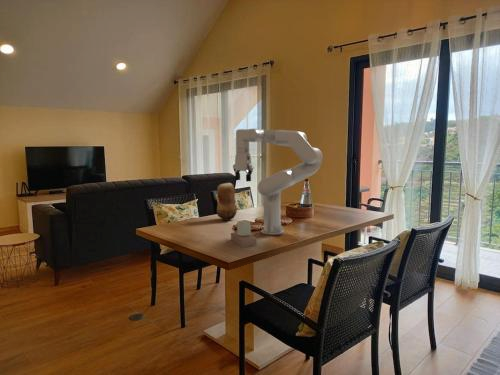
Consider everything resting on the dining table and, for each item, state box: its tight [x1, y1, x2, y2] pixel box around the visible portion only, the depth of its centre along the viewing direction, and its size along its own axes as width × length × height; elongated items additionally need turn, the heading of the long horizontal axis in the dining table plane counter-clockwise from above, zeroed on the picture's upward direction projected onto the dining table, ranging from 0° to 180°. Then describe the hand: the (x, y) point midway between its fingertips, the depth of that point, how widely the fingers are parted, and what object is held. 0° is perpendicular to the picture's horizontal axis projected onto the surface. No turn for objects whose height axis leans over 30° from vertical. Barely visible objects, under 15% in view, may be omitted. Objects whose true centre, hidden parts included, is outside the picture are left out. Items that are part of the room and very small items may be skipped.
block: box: [236, 219, 252, 236], centre depth 193 cm, size 5×5×7 cm
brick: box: [230, 231, 258, 248], centre depth 193 cm, size 17×8×5 cm, turn 25°
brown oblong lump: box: [216, 182, 238, 221], centre depth 250 cm, size 14×13×25 cm
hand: (243, 180), depth 217 cm, fingers open, 9 cm apart
